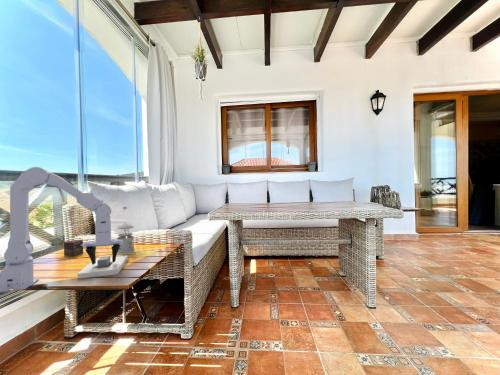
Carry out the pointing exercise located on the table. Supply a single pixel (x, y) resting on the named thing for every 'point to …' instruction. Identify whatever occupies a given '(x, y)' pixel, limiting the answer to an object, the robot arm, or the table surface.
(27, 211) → the robot arm
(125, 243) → the french press
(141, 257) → the table surface
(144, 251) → the table surface
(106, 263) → the block
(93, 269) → the base plate
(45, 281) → the table surface
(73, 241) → the box
